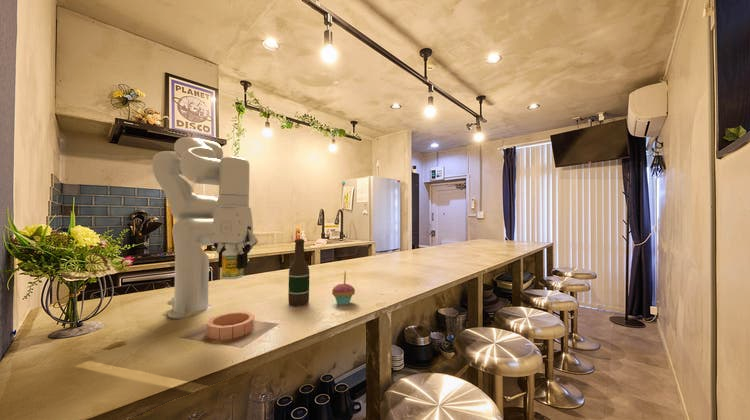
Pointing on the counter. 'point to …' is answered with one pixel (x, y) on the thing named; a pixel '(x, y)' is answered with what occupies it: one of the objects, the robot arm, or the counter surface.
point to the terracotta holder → (220, 331)
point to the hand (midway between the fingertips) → (232, 266)
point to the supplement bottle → (230, 262)
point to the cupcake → (343, 292)
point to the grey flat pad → (239, 341)
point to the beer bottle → (298, 277)
